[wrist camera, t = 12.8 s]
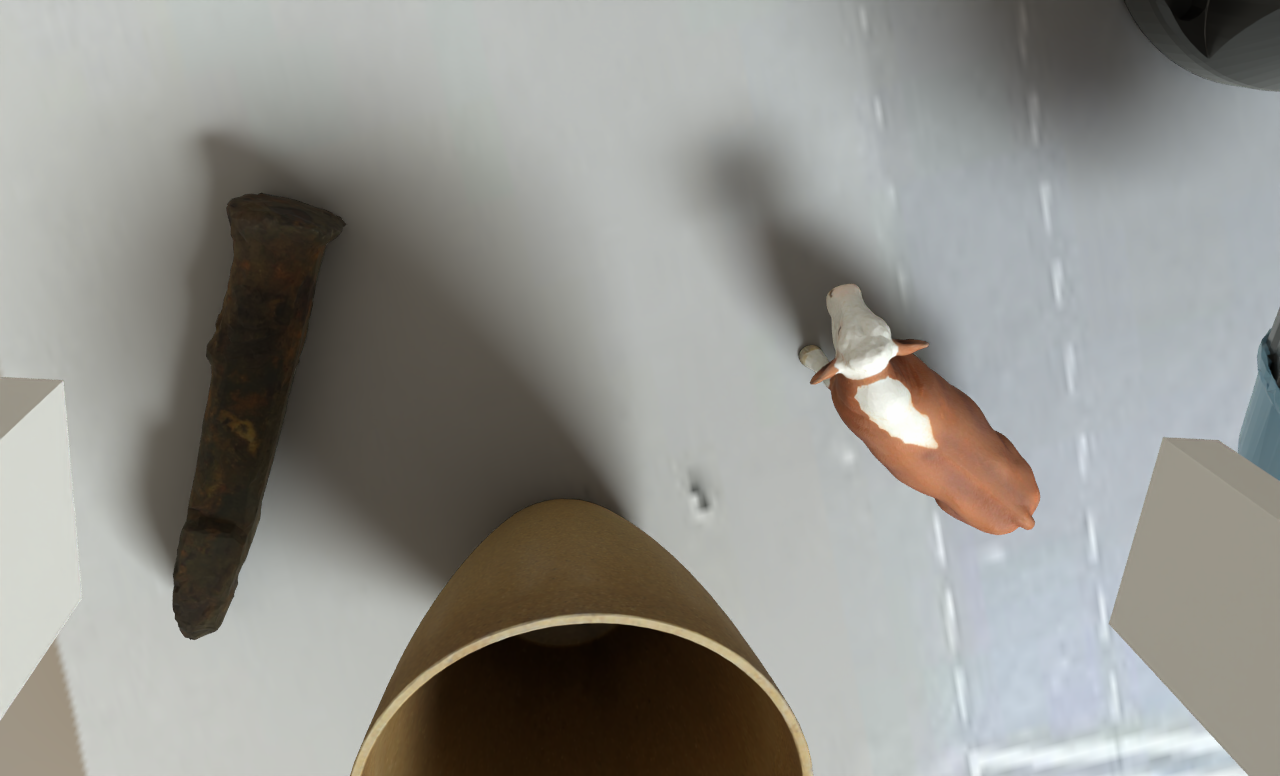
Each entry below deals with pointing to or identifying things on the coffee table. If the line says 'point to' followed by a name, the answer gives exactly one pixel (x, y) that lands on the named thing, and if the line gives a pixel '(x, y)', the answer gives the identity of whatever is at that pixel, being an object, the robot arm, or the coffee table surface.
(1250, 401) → the robot arm
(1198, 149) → the coffee table surface
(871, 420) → the bull figurine
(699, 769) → the plant pot
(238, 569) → the hand tool
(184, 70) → the coffee table surface
